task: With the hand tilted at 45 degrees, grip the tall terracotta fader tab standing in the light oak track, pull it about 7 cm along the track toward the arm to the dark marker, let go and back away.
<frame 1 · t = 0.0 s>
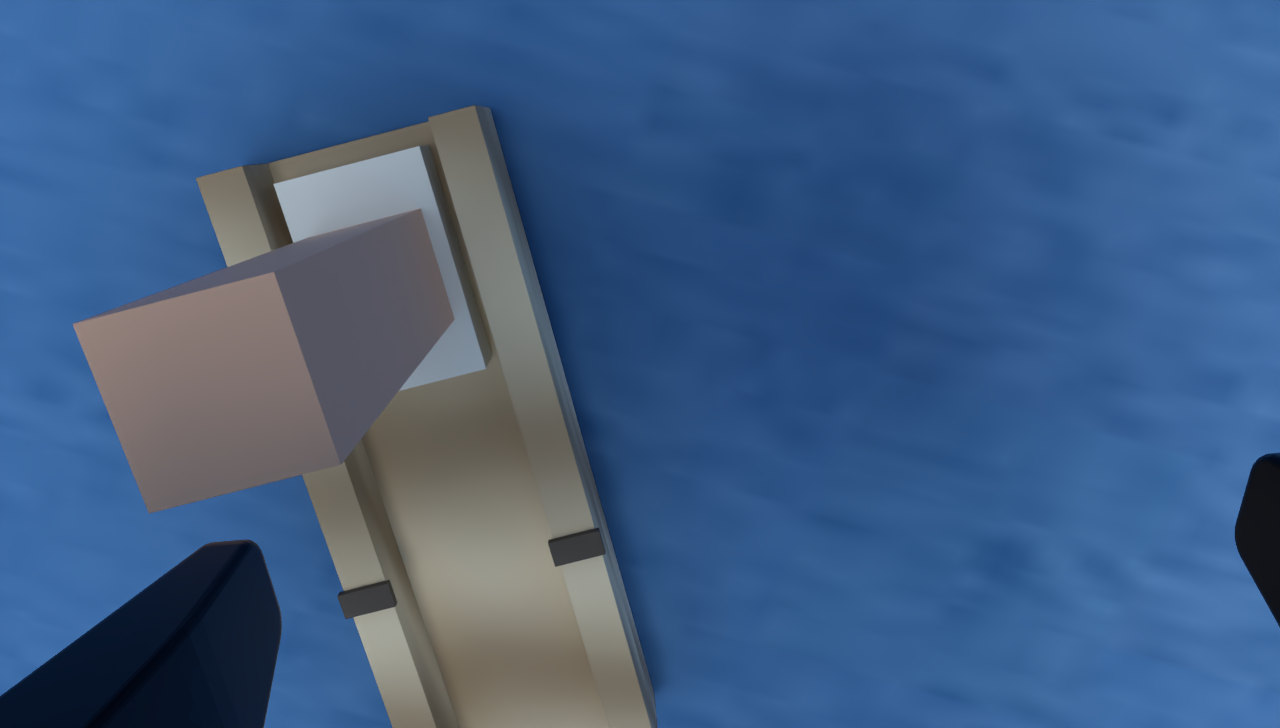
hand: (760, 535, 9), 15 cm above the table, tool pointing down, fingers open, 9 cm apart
fader track: (464, 452, 25), on the table
fader tab: (330, 314, 17), point 7 cm above the table, slide at 0.0 cm
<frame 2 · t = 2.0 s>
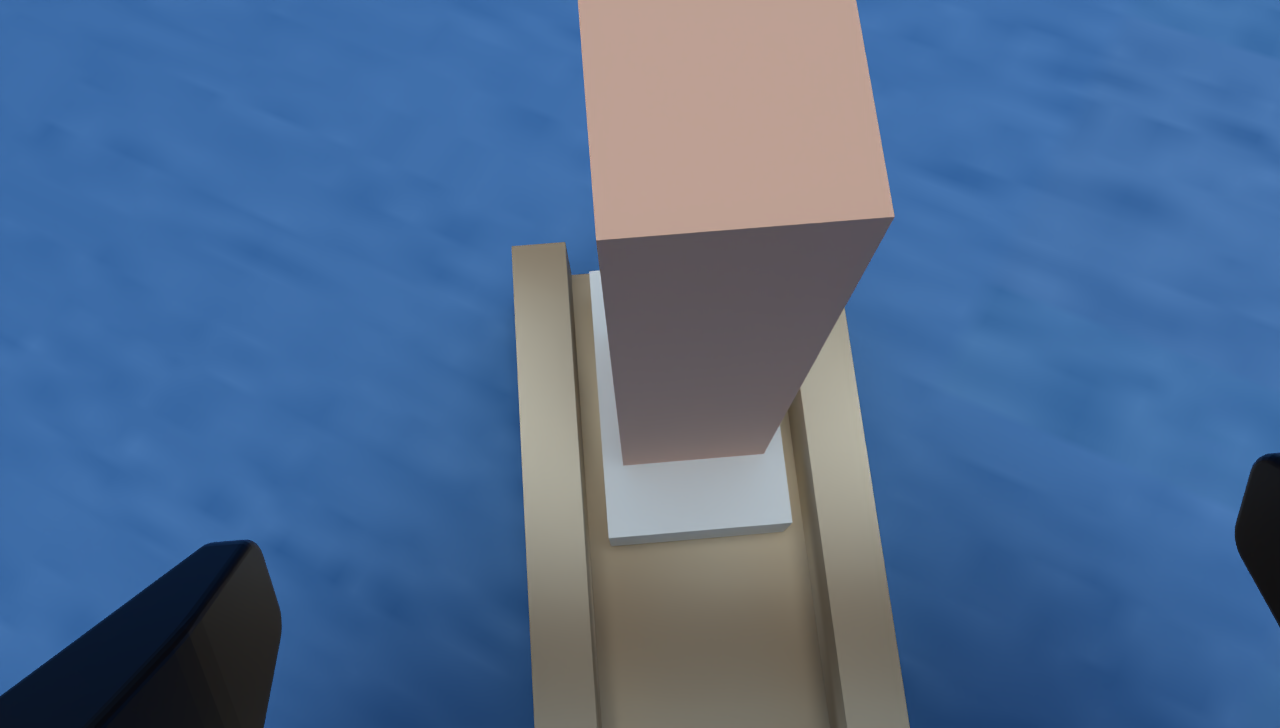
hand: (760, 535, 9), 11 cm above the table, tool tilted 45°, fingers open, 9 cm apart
fader track: (707, 679, 18), on the table
fader tab: (698, 311, 14), point 7 cm above the table, slide at 0.0 cm
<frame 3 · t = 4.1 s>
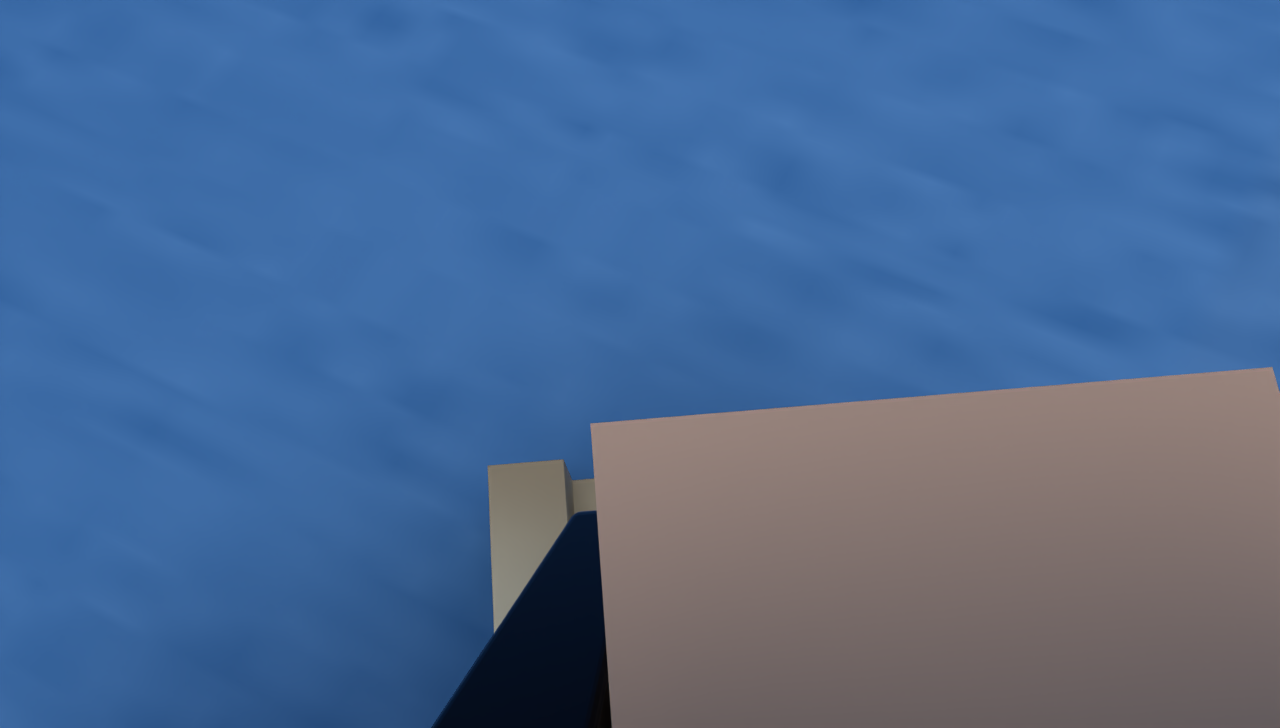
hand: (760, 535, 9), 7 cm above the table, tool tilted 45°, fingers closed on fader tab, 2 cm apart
fader tab: (780, 697, 8), point 7 cm above the table, slide at 0.0 cm, touching gripper
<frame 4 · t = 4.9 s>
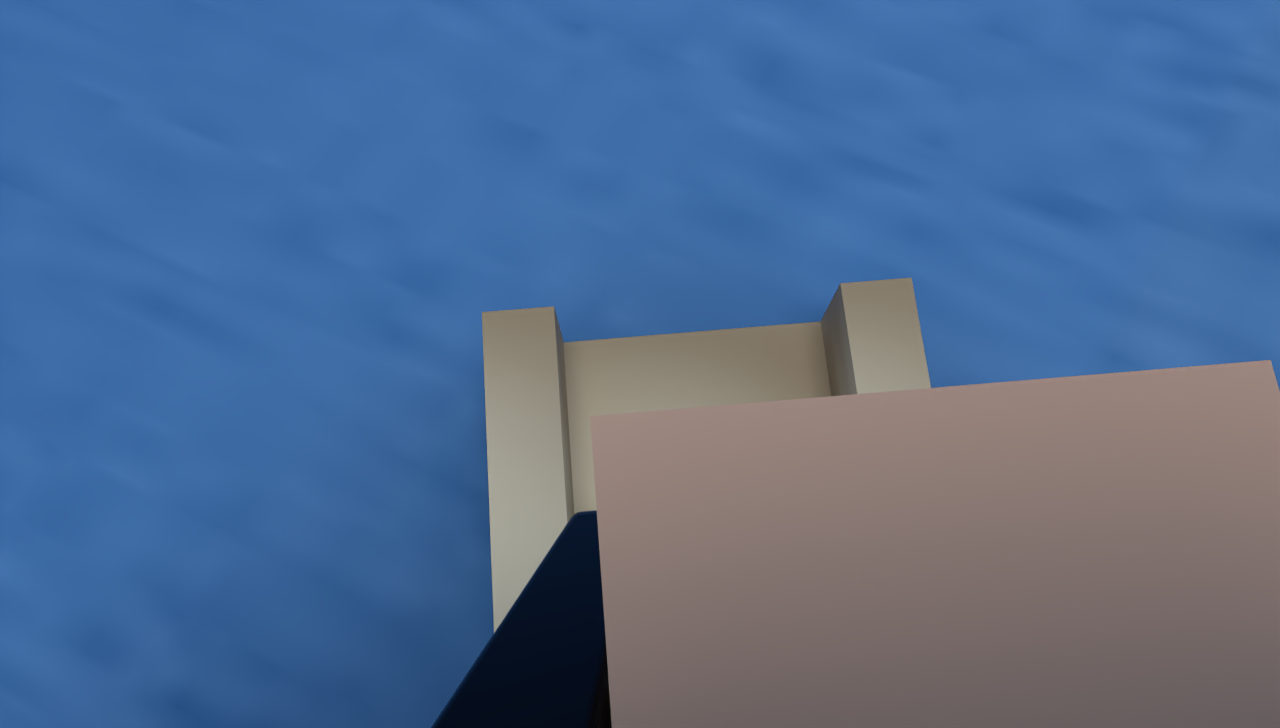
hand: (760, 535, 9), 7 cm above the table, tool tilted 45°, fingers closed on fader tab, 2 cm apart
fader tab: (780, 695, 8), point 7 cm above the table, slide at 2.2 cm, touching gripper
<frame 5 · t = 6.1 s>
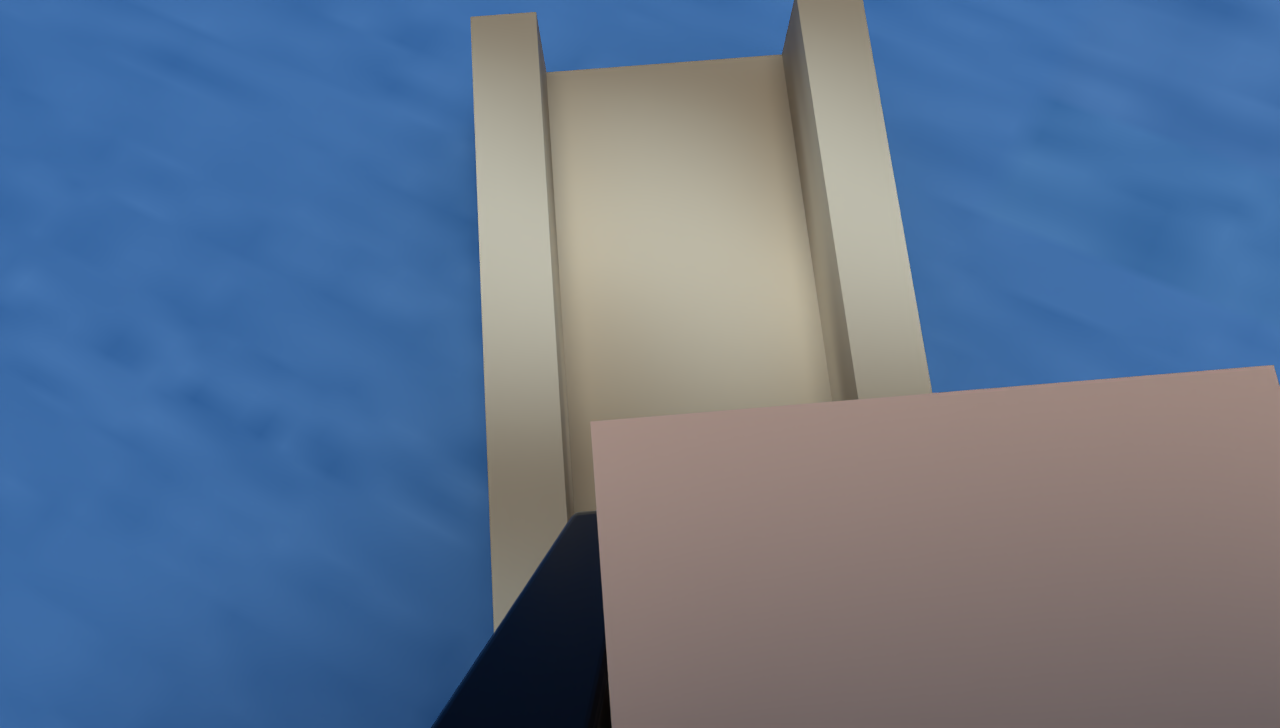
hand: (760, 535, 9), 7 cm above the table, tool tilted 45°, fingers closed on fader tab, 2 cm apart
fader track: (709, 548, 15), on the table
fader tab: (780, 696, 8), point 7 cm above the table, slide at 7.0 cm, touching gripper
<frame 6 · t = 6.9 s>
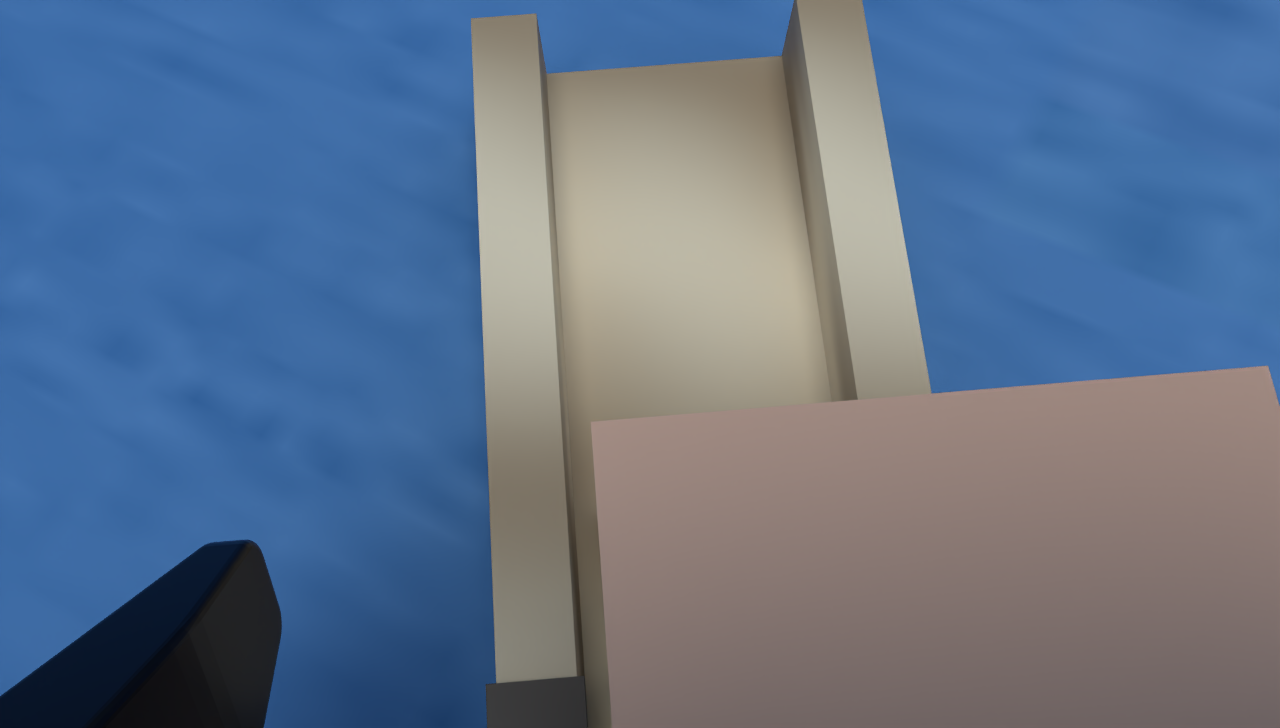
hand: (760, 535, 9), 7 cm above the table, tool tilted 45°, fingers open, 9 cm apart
fader track: (708, 548, 15), on the table
fader tab: (780, 696, 8), point 7 cm above the table, slide at 7.0 cm
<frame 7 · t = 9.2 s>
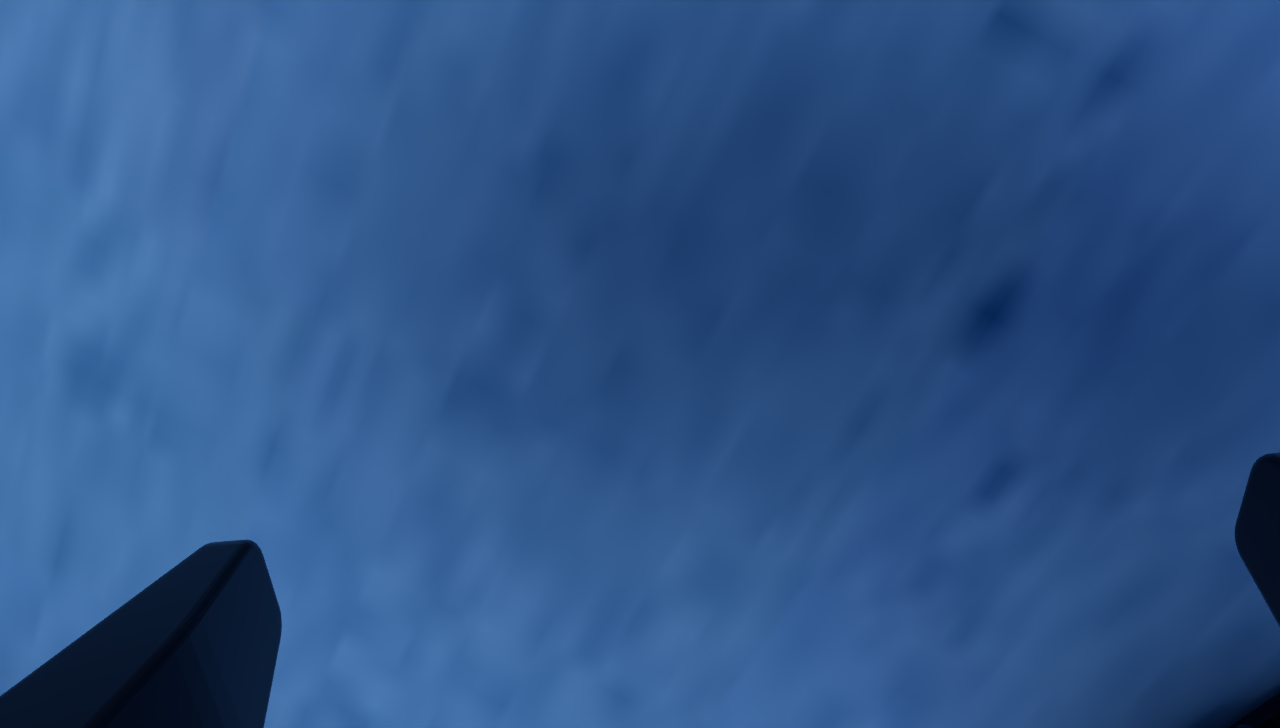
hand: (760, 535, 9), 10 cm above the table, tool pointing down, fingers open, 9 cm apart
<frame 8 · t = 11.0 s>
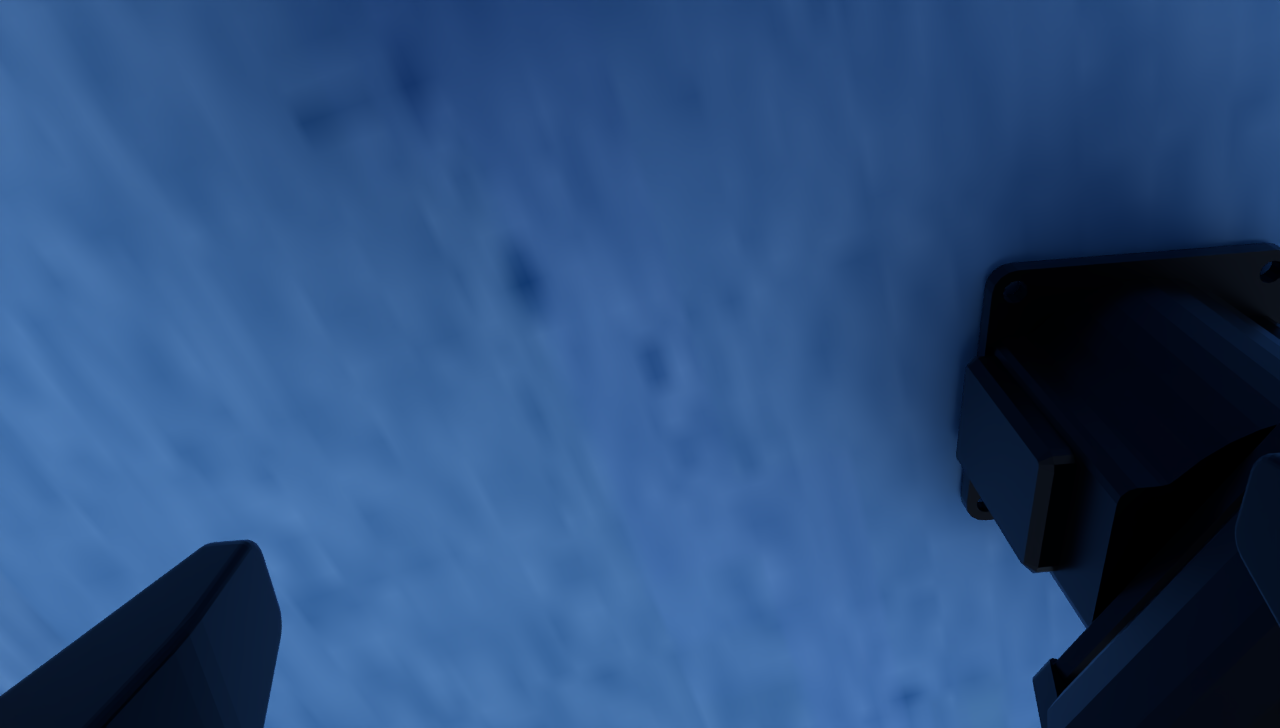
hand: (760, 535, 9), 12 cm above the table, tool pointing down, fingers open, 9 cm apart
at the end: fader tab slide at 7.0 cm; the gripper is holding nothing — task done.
